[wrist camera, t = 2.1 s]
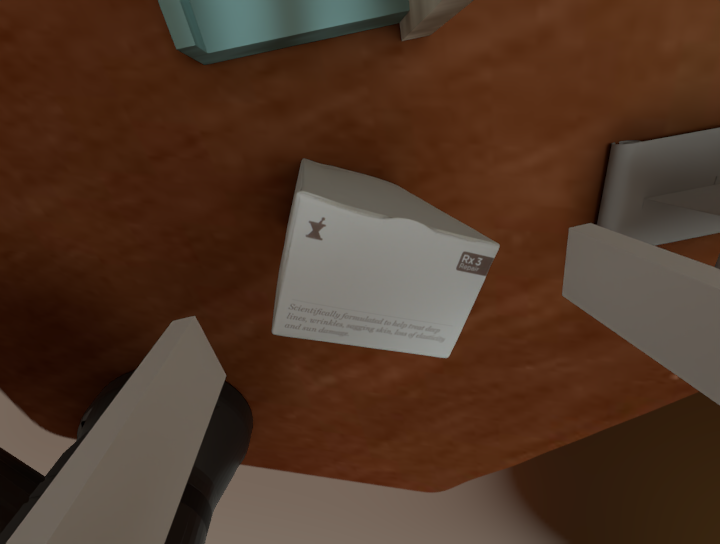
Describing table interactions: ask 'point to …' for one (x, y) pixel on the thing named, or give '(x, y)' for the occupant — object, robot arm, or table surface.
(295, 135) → the table surface
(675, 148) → the folded metal stand
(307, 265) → the skincare box
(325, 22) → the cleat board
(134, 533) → the robot arm
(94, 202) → the table surface
